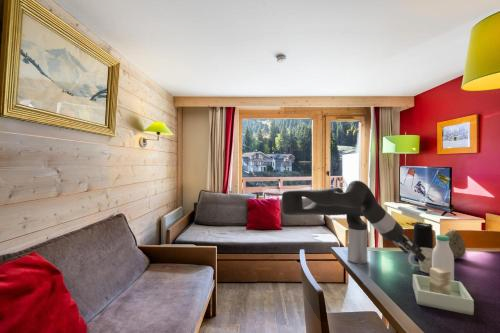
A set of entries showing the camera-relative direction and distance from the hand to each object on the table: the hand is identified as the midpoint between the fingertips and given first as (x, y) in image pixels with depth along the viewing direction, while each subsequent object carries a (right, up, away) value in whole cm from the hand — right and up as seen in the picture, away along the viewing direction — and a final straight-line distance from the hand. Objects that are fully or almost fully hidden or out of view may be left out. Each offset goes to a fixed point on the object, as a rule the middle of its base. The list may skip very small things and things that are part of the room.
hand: (415, 255), depth 98 cm
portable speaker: (+30, -17, +41) cm, 54 cm away
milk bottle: (+22, -17, +15) cm, 31 cm away
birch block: (+10, -16, +1) cm, 19 cm away
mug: (+21, -17, +28) cm, 39 cm away
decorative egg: (+48, -17, +45) cm, 68 cm away
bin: (+10, -17, +1) cm, 20 cm away
